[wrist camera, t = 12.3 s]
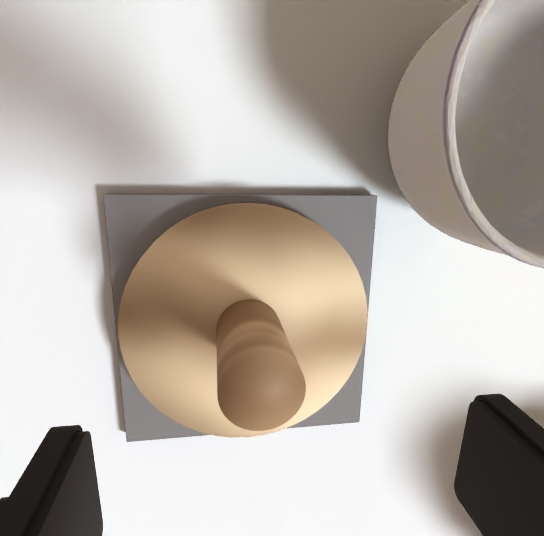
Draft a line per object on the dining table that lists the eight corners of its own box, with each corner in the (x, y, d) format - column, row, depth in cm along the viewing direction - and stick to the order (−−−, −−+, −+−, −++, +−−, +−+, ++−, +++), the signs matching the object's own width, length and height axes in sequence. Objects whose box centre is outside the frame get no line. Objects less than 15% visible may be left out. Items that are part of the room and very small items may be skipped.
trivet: (106, 194, 18) (103, 195, 17) (372, 194, 20) (377, 195, 19) (129, 434, 21) (126, 441, 21) (355, 415, 23) (359, 422, 22)
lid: (112, 200, 17) (58, 217, 11) (371, 204, 19) (445, 220, 13) (130, 435, 21) (94, 549, 14) (352, 419, 22) (405, 514, 16)
